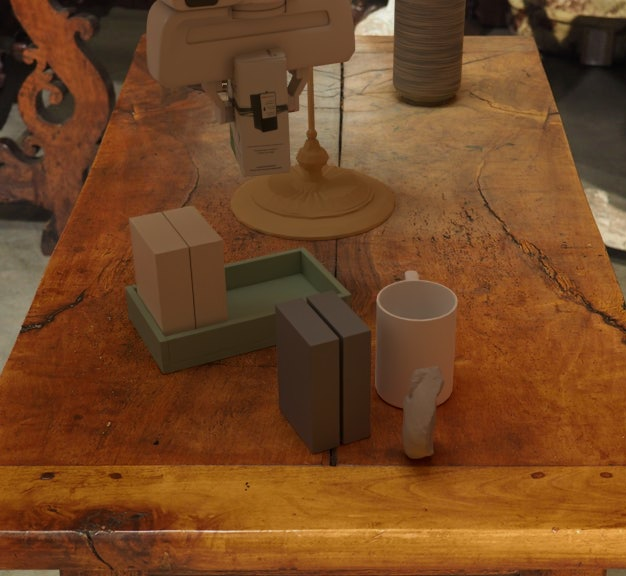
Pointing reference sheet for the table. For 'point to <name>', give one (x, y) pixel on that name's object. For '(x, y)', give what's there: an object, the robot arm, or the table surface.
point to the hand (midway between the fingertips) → (257, 116)
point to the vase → (428, 50)
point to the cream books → (179, 269)
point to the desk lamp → (312, 196)
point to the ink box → (260, 113)
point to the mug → (414, 335)
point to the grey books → (323, 370)
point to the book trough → (238, 309)
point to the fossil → (421, 412)
